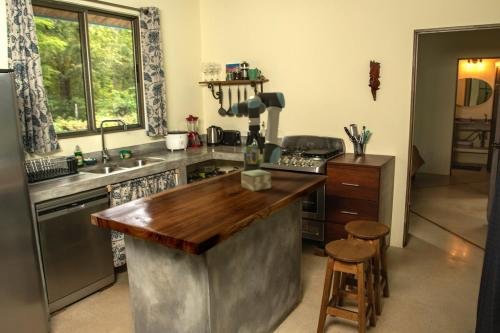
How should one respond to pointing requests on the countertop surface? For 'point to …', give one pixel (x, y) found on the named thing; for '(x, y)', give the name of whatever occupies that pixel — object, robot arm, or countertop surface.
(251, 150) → the chalk box
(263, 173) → the lid
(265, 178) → the crate
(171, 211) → the countertop surface
